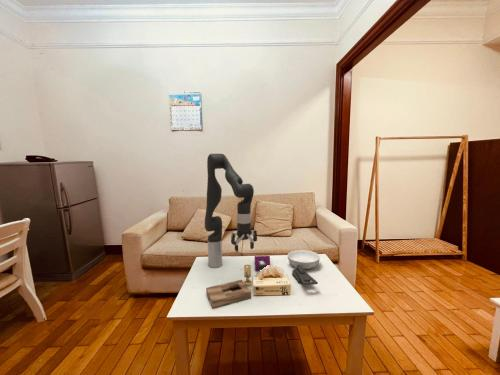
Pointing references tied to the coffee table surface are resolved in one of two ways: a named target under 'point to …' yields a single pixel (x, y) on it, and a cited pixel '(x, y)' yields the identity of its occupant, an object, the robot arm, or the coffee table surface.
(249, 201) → the robot arm
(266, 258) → the purple tall block
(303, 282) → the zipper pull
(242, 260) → the coffee table surface
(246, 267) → the peg
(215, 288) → the keyhole board
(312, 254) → the serving bowl
